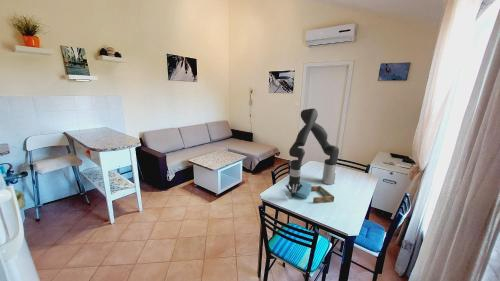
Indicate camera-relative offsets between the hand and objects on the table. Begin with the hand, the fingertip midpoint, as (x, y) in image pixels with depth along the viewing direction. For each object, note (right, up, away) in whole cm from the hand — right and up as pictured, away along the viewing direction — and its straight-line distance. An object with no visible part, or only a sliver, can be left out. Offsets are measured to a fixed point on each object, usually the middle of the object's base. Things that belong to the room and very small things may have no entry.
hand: (292, 196), depth 148 cm
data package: (+4, +1, +1) cm, 4 cm away
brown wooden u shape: (+19, -1, +5) cm, 20 cm away
